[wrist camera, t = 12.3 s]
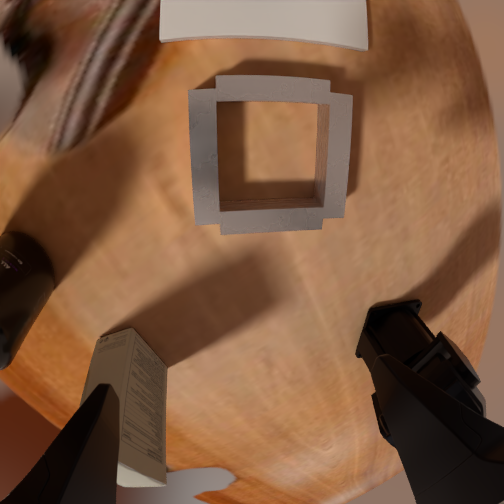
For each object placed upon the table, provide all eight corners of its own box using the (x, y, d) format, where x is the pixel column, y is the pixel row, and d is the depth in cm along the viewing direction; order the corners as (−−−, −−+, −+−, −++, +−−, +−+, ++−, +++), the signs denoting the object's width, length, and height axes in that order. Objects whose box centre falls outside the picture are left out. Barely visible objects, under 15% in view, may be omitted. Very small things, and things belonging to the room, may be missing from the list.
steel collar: (339, 84, 17) (353, 83, 15) (331, 217, 21) (342, 228, 19) (190, 80, 15) (188, 77, 14) (197, 224, 20) (196, 236, 18)
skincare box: (96, 337, 23) (63, 457, 12) (133, 324, 23) (108, 457, 12) (135, 379, 26) (123, 489, 16) (171, 370, 26) (168, 488, 15)
